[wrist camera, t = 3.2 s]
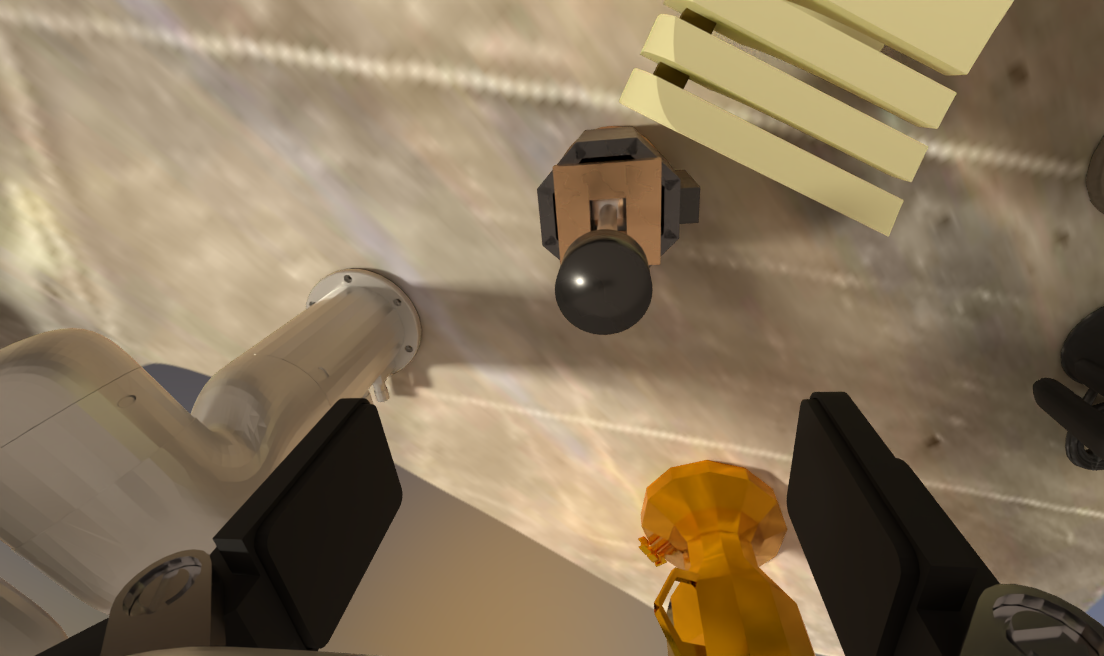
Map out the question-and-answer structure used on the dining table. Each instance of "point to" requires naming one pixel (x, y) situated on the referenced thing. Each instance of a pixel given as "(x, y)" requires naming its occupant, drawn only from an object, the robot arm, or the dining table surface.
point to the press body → (616, 191)
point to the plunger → (604, 274)
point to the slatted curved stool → (827, 52)
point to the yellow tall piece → (720, 563)
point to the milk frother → (1093, 360)
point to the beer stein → (1097, 178)
